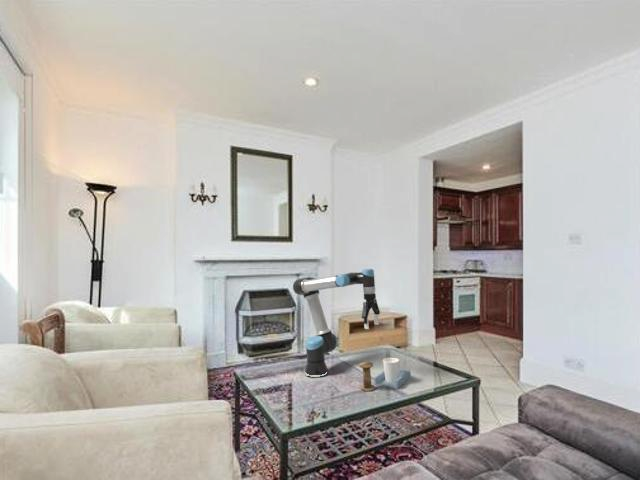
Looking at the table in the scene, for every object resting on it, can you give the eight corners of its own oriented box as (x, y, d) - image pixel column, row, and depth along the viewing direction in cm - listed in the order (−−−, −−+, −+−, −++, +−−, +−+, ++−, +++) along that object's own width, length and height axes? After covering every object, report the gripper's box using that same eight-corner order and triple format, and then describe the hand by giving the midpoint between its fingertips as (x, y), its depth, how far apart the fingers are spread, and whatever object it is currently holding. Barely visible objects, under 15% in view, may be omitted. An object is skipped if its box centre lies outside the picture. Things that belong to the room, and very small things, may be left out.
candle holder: (401, 383, 200) (399, 362, 200) (383, 383, 202) (382, 362, 202) (400, 377, 210) (399, 357, 210) (384, 377, 212) (382, 357, 212)
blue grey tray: (374, 384, 203) (374, 377, 203) (389, 374, 219) (388, 367, 219) (397, 389, 194) (397, 381, 194) (410, 377, 210) (410, 370, 211)
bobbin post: (358, 389, 197) (356, 365, 197) (365, 385, 203) (363, 361, 204) (370, 392, 192) (369, 367, 193) (377, 387, 198) (375, 362, 199)
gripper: (365, 295, 208) (367, 331, 207) (383, 290, 228) (385, 323, 227) (354, 295, 213) (356, 330, 212) (373, 290, 233) (375, 322, 232)
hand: (371, 326), depth 219 cm, fingers open, 13 cm apart
